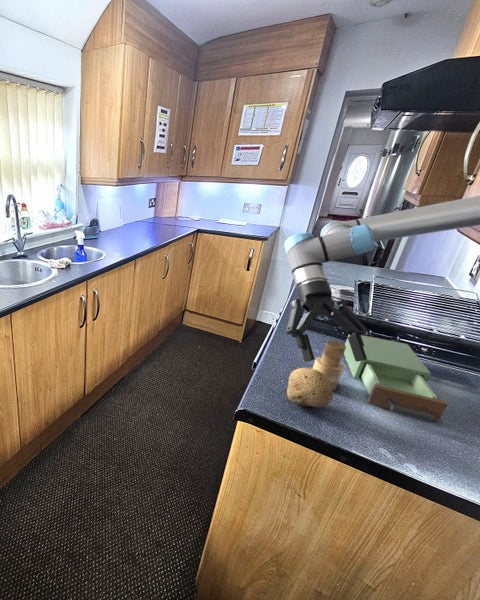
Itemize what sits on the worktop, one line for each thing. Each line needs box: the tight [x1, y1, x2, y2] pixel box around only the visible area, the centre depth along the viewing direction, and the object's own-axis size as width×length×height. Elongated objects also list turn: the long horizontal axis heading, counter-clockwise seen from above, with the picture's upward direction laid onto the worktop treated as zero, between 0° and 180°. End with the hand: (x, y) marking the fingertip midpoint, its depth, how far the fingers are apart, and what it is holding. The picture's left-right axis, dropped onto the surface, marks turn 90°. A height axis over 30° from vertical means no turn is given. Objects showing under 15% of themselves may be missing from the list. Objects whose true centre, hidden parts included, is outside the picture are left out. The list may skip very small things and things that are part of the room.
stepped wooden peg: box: [312, 340, 346, 392], centre depth 85 cm, size 6×6×12 cm
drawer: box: [360, 362, 449, 423], centre depth 80 cm, size 20×13×5 cm, turn 152°
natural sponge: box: [286, 367, 334, 408], centre depth 78 cm, size 9×9×10 cm
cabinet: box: [343, 334, 432, 383], centre depth 92 cm, size 17×14×7 cm
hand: (335, 360), depth 83 cm, fingers open, 13 cm apart
